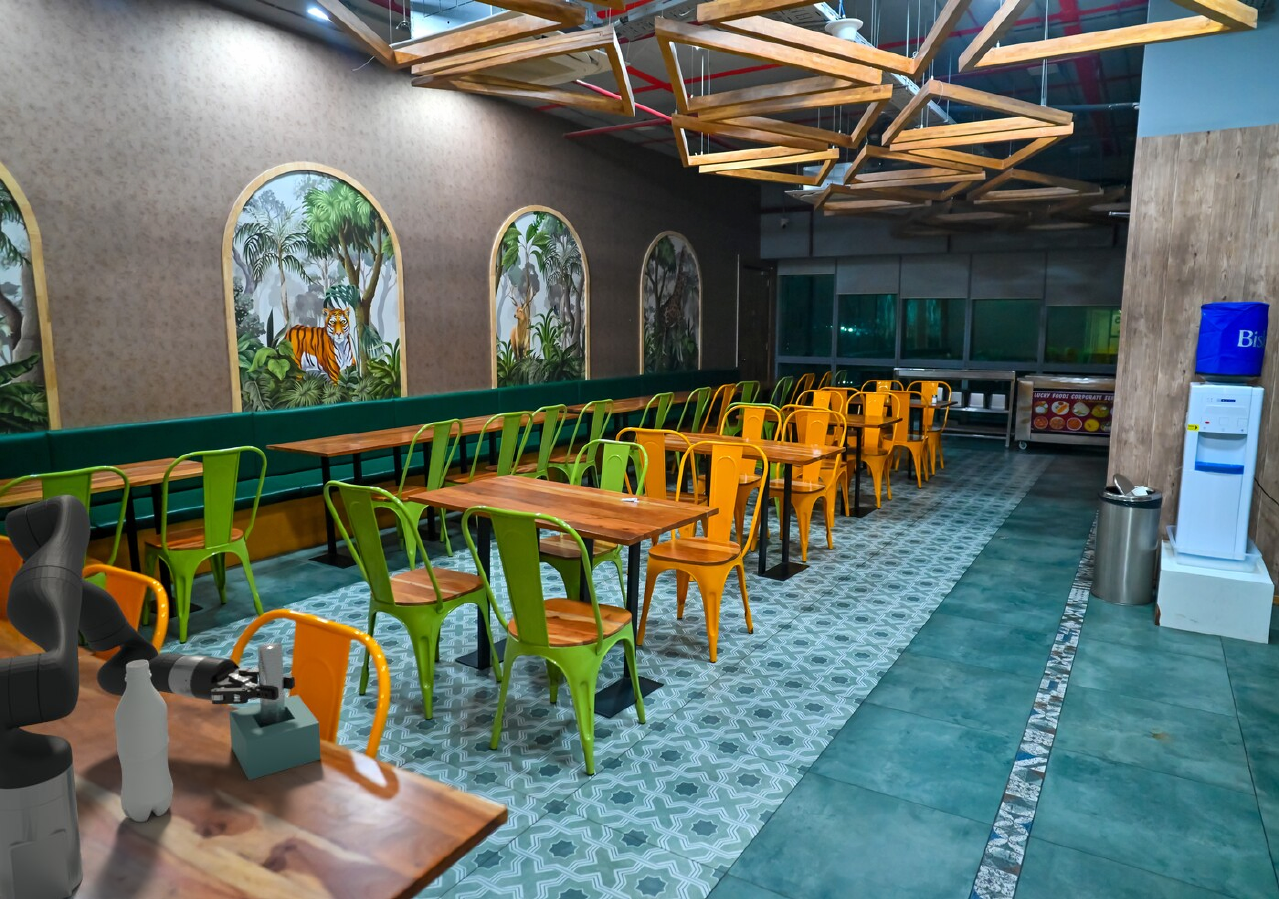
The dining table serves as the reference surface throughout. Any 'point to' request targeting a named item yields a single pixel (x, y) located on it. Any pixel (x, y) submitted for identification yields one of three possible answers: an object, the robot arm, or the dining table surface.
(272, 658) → the steel post
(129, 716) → the water bottle
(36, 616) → the robot arm
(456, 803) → the dining table surface
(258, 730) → the well block
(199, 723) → the dining table surface
